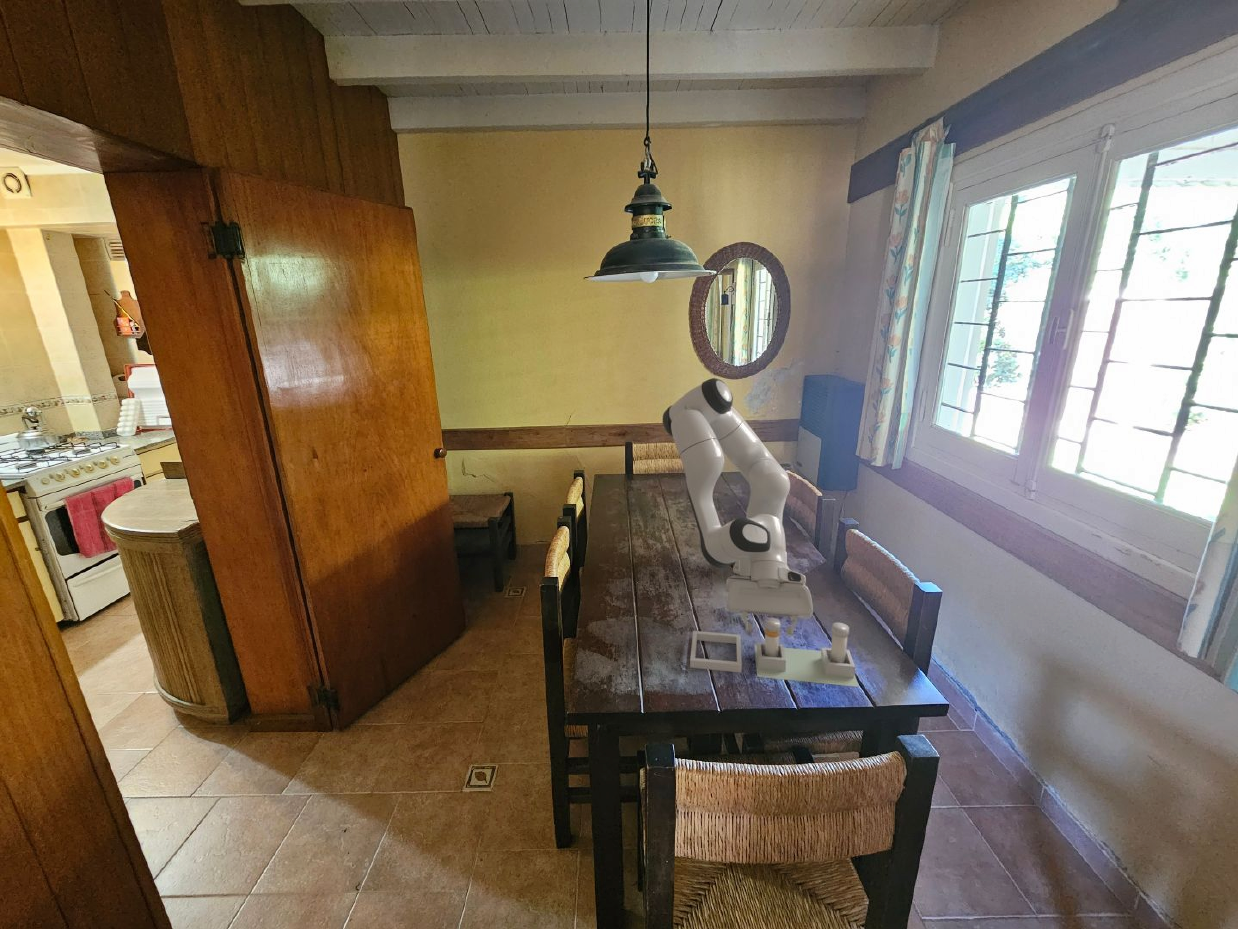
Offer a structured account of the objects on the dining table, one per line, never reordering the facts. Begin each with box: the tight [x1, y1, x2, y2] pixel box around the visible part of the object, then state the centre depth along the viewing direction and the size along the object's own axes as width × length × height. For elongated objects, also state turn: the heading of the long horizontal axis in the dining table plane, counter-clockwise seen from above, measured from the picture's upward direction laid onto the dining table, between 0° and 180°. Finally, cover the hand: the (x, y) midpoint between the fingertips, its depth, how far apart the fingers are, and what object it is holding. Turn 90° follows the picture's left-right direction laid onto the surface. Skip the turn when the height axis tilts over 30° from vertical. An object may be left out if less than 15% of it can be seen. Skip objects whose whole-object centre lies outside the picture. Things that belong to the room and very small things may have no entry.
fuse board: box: [753, 641, 860, 688], centre depth 120 cm, size 12×22×4 cm, turn 78°
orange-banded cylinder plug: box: [763, 616, 782, 658], centre depth 121 cm, size 4×4×11 cm
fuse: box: [829, 622, 850, 664], centre depth 117 cm, size 4×4×11 cm
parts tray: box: [689, 630, 743, 673], centre depth 125 cm, size 12×12×3 cm
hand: (769, 633), depth 121 cm, fingers open, 8 cm apart
